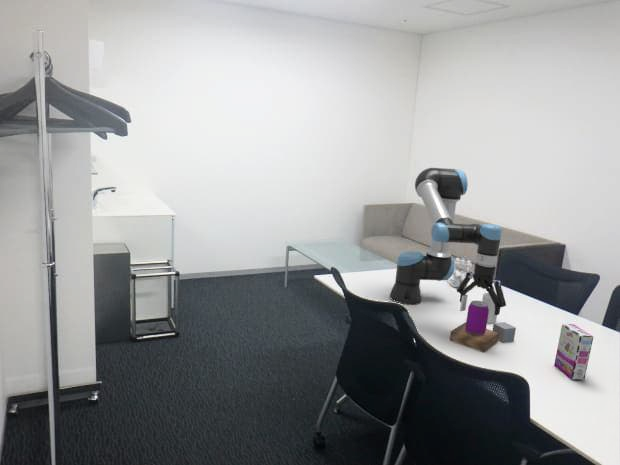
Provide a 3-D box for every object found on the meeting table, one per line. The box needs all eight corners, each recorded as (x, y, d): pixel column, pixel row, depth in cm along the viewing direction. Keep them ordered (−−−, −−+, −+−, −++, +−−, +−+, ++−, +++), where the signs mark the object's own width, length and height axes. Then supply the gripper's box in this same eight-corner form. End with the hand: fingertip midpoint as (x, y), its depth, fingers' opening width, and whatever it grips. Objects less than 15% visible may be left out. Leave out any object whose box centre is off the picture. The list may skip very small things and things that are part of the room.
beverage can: (486, 330, 196) (490, 302, 194) (484, 337, 189) (488, 308, 187) (466, 326, 199) (470, 298, 197) (463, 332, 192) (468, 304, 190)
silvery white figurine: (443, 279, 278) (447, 249, 275) (461, 280, 279) (465, 250, 275) (455, 291, 259) (460, 258, 255) (474, 292, 259) (479, 259, 256)
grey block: (491, 337, 201) (493, 323, 199) (502, 335, 203) (504, 322, 202) (502, 343, 195) (504, 329, 194) (513, 341, 198) (515, 327, 197)
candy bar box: (585, 380, 169) (594, 336, 165) (571, 380, 168) (580, 336, 165) (566, 365, 179) (574, 323, 176) (553, 365, 179) (561, 323, 176)
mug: (497, 324, 215) (501, 298, 213) (481, 323, 215) (486, 297, 213) (490, 316, 225) (493, 291, 222) (475, 314, 225) (479, 289, 223)
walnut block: (449, 340, 194) (451, 330, 193) (464, 331, 204) (465, 322, 204) (484, 352, 185) (485, 342, 184) (497, 342, 196) (499, 332, 195)
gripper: (452, 257, 195) (445, 307, 200) (510, 274, 177) (501, 329, 181) (463, 255, 200) (456, 304, 204) (521, 271, 181) (512, 325, 186)
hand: (477, 316), depth 193 cm, fingers open, 13 cm apart
